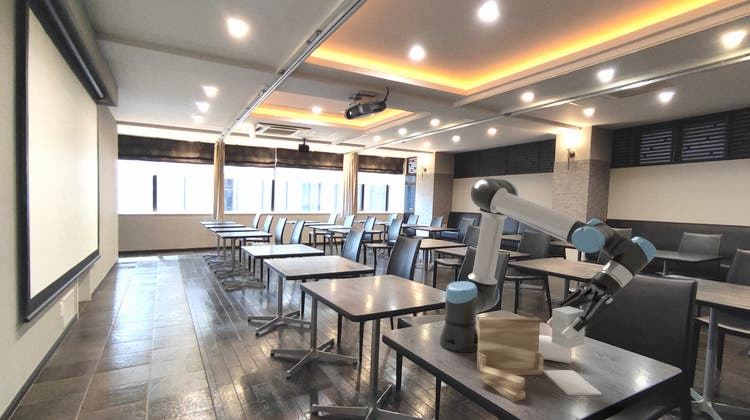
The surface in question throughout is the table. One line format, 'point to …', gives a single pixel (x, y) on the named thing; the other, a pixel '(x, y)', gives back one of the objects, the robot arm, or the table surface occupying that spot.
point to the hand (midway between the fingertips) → (557, 330)
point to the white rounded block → (553, 350)
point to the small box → (562, 321)
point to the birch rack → (510, 345)
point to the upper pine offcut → (502, 378)
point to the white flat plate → (571, 382)
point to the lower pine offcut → (506, 391)
